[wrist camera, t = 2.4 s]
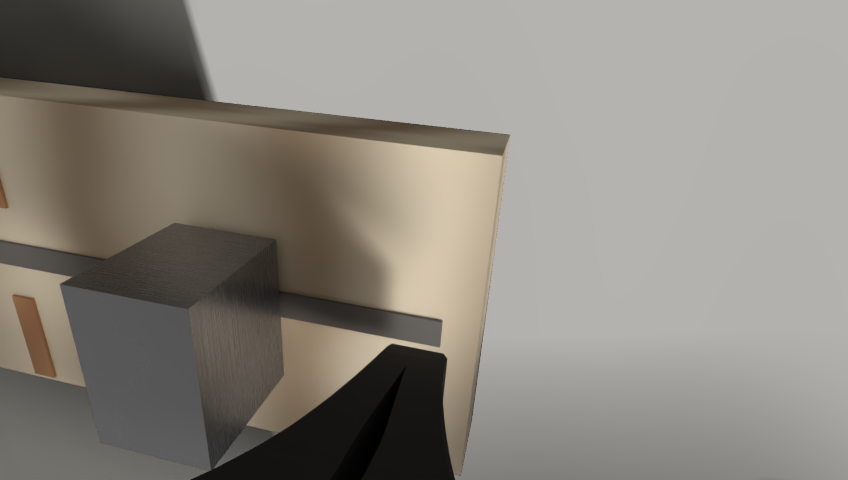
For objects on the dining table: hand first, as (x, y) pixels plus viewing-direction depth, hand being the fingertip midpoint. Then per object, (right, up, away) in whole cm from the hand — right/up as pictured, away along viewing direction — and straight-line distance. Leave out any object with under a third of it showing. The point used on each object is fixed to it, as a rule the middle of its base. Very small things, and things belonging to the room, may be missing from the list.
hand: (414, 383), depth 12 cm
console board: (-8, +3, +6) cm, 11 cm away
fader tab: (-5, +2, +3) cm, 6 cm away
